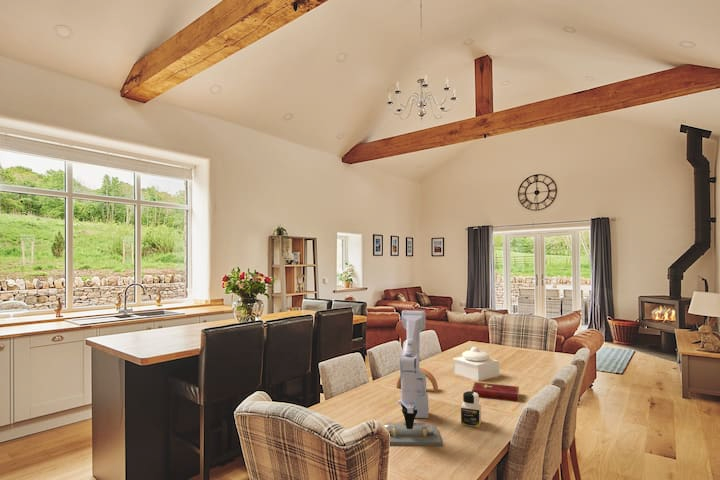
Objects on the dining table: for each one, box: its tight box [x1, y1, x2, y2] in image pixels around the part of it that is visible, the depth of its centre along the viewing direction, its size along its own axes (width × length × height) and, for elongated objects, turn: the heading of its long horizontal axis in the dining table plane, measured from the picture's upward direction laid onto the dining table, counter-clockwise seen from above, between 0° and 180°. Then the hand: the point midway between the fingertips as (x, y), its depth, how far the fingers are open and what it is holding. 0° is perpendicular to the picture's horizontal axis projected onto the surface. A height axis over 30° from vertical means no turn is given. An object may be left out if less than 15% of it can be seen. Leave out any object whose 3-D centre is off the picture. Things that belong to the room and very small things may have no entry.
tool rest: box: [389, 425, 443, 447], centre depth 156 cm, size 22×14×4 cm, turn 88°
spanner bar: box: [383, 421, 434, 436], centre depth 157 cm, size 18×3×4 cm, turn 88°
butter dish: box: [452, 346, 500, 382], centre depth 238 cm, size 18×18×16 cm
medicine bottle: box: [460, 390, 482, 428], centre depth 170 cm, size 7×7×12 cm
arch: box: [396, 367, 439, 393], centre depth 213 cm, size 6×20×10 cm, turn 68°
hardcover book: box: [471, 381, 520, 403], centre depth 203 cm, size 12×21×4 cm, turn 69°
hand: (408, 425), depth 157 cm, fingers open, 4 cm apart
